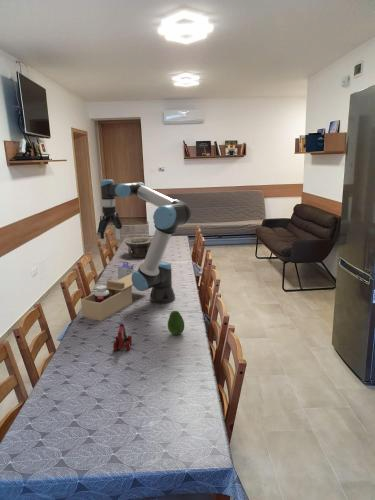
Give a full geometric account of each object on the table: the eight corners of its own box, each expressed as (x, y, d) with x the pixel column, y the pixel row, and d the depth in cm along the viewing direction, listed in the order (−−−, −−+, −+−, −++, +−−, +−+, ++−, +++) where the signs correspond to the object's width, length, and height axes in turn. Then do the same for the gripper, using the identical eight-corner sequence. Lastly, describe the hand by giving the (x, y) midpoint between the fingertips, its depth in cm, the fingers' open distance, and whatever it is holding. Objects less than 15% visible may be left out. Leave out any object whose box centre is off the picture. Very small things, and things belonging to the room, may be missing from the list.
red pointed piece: (132, 340, 172) (131, 319, 169) (129, 353, 160) (127, 332, 157) (117, 340, 172) (116, 320, 169) (113, 354, 160) (111, 332, 157)
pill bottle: (97, 315, 198) (95, 290, 195) (94, 310, 205) (92, 286, 202) (112, 312, 202) (110, 288, 198) (108, 307, 209) (106, 283, 205)
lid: (149, 277, 230) (148, 271, 229) (121, 291, 206) (121, 285, 205) (132, 274, 236) (131, 268, 235) (103, 288, 212) (103, 281, 211)
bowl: (130, 251, 336) (129, 235, 332) (158, 252, 332) (157, 236, 329) (121, 259, 310) (120, 242, 307) (151, 260, 307) (150, 243, 303)
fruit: (180, 339, 172) (180, 315, 169) (165, 336, 175) (164, 313, 172) (186, 332, 179) (186, 309, 176) (171, 329, 182) (171, 307, 179)
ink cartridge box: (134, 281, 254) (133, 261, 251) (132, 284, 249) (131, 263, 245) (120, 281, 255) (119, 261, 252) (118, 284, 250) (117, 263, 246)
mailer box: (132, 302, 217) (131, 286, 214) (101, 321, 193) (99, 303, 190) (114, 299, 223) (113, 283, 220) (82, 316, 198) (80, 299, 196)
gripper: (116, 203, 227) (118, 236, 233) (89, 208, 206) (92, 245, 211) (126, 204, 224) (128, 237, 229) (99, 209, 203) (102, 246, 208)
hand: (111, 241), depth 220 cm, fingers open, 13 cm apart
